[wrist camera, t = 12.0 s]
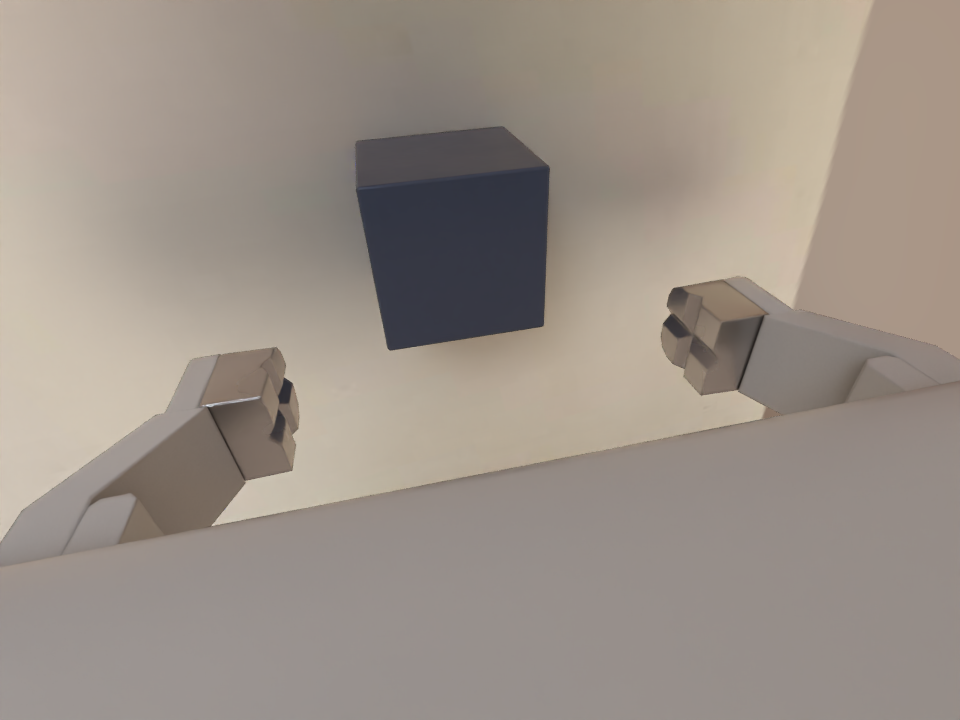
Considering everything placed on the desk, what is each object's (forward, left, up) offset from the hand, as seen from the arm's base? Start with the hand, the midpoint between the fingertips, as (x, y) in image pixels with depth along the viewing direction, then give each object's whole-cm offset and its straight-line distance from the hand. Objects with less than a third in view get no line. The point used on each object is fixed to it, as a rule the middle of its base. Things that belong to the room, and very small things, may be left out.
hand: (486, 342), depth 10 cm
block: (0, 0, -8) cm, 8 cm away
